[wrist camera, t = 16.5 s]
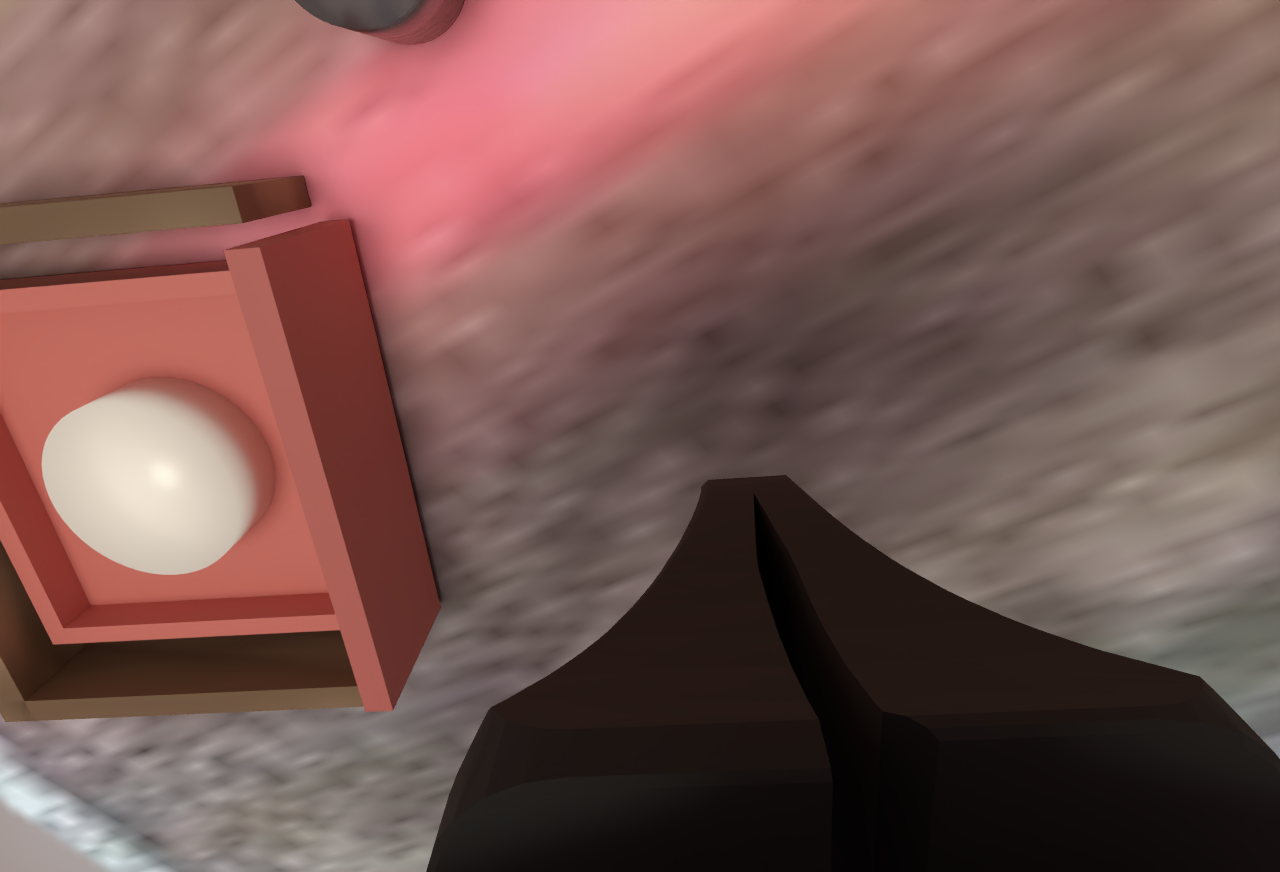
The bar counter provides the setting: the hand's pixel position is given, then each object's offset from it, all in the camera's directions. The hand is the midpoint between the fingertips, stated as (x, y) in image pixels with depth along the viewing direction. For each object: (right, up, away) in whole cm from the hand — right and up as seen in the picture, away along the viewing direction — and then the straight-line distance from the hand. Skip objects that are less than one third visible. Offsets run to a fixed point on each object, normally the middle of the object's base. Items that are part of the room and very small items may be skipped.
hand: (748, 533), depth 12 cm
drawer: (-15, +1, +11) cm, 19 cm away
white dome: (-15, +1, +10) cm, 19 cm away
